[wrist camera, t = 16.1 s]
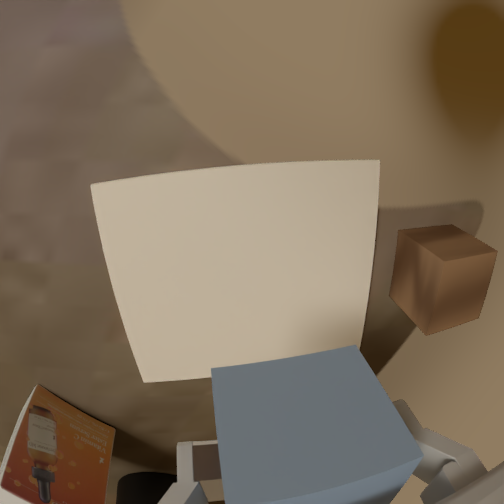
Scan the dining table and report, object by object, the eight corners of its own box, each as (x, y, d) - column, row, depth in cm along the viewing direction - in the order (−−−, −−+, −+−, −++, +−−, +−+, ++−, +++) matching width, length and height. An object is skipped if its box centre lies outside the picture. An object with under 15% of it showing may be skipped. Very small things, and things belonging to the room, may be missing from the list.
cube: (210, 368, 10) (225, 507, 6) (355, 344, 11) (424, 455, 6) (227, 447, 12) (242, 549, 7) (338, 427, 13) (378, 517, 8)
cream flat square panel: (91, 184, 16) (90, 185, 15) (377, 159, 17) (380, 160, 17) (144, 379, 21) (143, 382, 21) (357, 349, 23) (359, 351, 23)
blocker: (397, 229, 20) (444, 261, 15) (450, 224, 20) (497, 251, 16) (388, 295, 22) (426, 335, 17) (439, 284, 22) (478, 318, 18)
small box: (117, 427, 23) (106, 533, 14) (92, 448, 24) (80, 540, 15) (36, 381, 20) (-2, 487, 11) (21, 408, 21) (-10, 499, 12)
